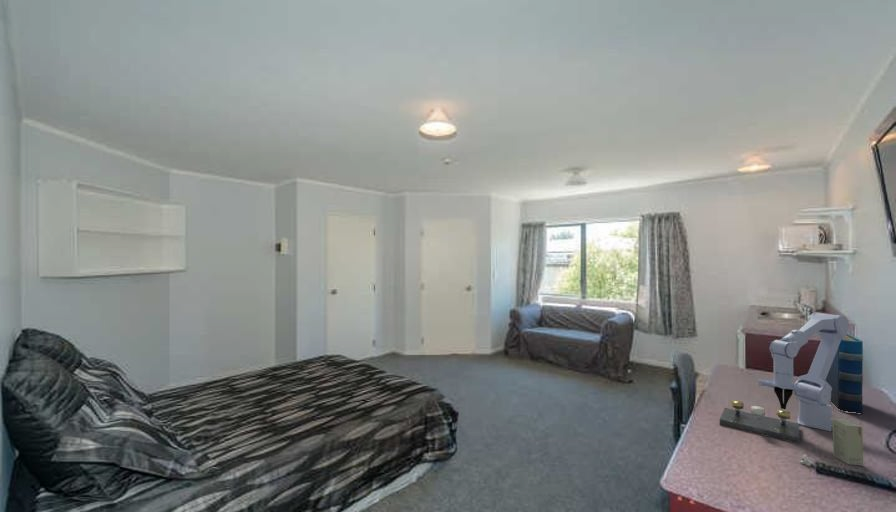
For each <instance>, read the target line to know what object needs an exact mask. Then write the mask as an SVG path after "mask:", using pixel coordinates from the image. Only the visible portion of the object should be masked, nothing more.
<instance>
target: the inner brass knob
mask: <svg viewBox="0 0 896 512" xmlns="http://www.w3.org/2000/svg"><path fill="white" fill-rule="evenodd" d="M775 413H776V414H775V415H776V417H778V418H780V422H781V423H783V424H786V421H787V420H789V419H791V412H790V411H788V410H787V409H781V408H779V409H776V412H775Z"/></svg>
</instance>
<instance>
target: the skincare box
mask: <svg viewBox="0 0 896 512" xmlns="http://www.w3.org/2000/svg"><path fill="white" fill-rule="evenodd" d="M863 436H864V435H863V426H862V425H861V424H860V425H859V424H857V423H855V422H853V421H851V420H849V419H848V418H847V419H844V418H834V417H833V418H832V447H833V448H832V455H833V456H834V457H835V458H837V459H839V460H840V461H842V462H844V463H845V464H847V465H854V466H864V444H863V441H864V440H863Z"/></svg>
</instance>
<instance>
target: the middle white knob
mask: <svg viewBox="0 0 896 512" xmlns="http://www.w3.org/2000/svg"><path fill="white" fill-rule="evenodd" d="M750 413H752V414H755V419H756V420H761V416H765V414H766V411H765V408H764V407H762V406H757V405H751V406H750Z"/></svg>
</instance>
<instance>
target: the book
mask: <svg viewBox="0 0 896 512" xmlns="http://www.w3.org/2000/svg"><path fill="white" fill-rule="evenodd" d="M863 346H864V344H863V340H861V339H859V338H858V337H855V336H854V335H851V334H849V333H848V332H847V333H846V335H845V338H844V339H841V342H840V344H839V347H838V350H837V352H836V355H835V357H834V360H833V362H832V365H831V367H830V370H829V372H828V375H827V377H826V382H827V383H828V384H829V385H830V386H831V387H832V391H831V399H830V400H831V402H832V403H833V404H834V405H835V406H836V407H837V408H838V409H840V410H843V411H848V412H856V413H861V412H862V413H863V402H864V401H863V400H864V399H863V397H864V396H863V381H864V380H863V379H864V374H863V361H864V354H863V350H864V349H863ZM831 402H830V403H831ZM832 403H831V404H832Z"/></svg>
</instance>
